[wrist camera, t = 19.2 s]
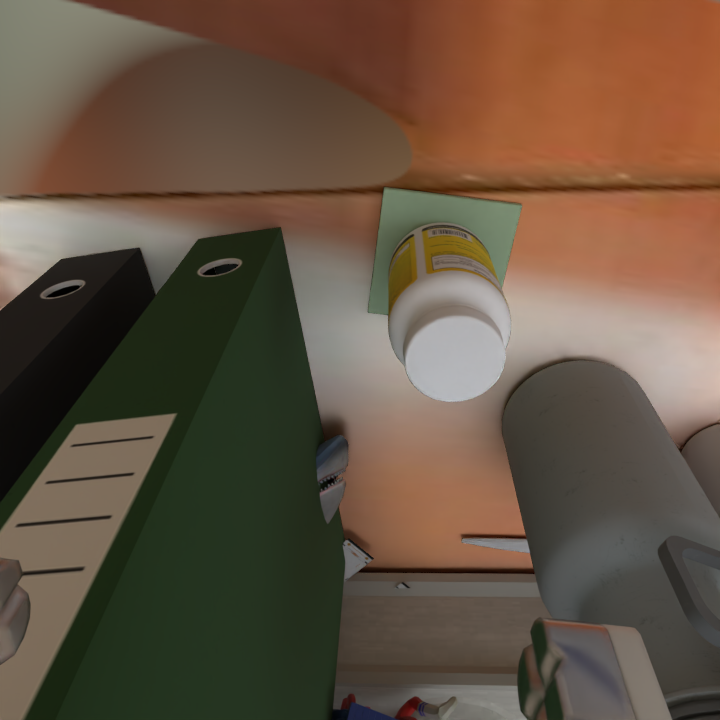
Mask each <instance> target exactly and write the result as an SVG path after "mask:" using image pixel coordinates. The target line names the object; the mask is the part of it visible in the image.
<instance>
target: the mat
mask: <svg viewBox="0 0 720 720" xmlns="http://www.w3.org/2000/svg"><path fill="white" fill-rule="evenodd" d="M521 208H522V205H521V204H519V203H511V202H502V201H494V200H486V199H478V198H470V197H462V196H454V195H446V194H438V193H430V192H421V191H413V190H405V189H397V188H389V187H384V191H383V199H382V207H381V214H380V222H379V230H378V237H377V245H376V253H375V260H374V268H373V276H372V283H371V291H370V299H369V306H368V313H376V314H384V315H388V273H389V264H390V260H391V257H392V254H393V252H394V250H395V248H396V247H397V245H398V244H399V242H400V241H401V240H402V239H403V238H404V237H405V236H406V235H407V234H409V233H410V232H412V231H413V230H415V229H417V228H419V227H421V226H424V225H427V224H431V223H439V222H445V223H453V224H457V225H460V226H462V227H465V228H467V229H468V230H470V231H471V232H473V233H474V234H475V235H476V236H477V237H478V238H479V239H480V240H481V241H482V243H483V244H484V246H485V247H486V249H487V251H488V253H489V255H490V258H491V261H492V264H493V267H494V269H495V272H496V275H497V277H498V280H499V283H500V286H501V289H502V285H503V281H504V277H505V273H506V269H507V265H508V261H509V257H510V253H511V249H512V245H513V241H514V236H515V232H516V228H517V224H518V220H519V216H520V212H521Z"/></svg>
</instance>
